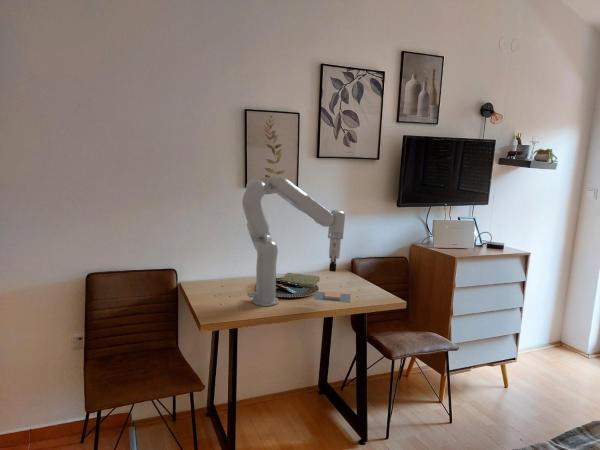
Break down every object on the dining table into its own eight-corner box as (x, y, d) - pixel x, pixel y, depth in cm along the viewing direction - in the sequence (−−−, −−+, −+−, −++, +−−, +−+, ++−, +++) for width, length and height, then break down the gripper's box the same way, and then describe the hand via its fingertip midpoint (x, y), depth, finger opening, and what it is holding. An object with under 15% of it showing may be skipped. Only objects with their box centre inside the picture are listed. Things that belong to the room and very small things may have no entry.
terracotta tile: (325, 293, 224) (324, 298, 216) (325, 291, 223) (324, 296, 215) (340, 295, 222) (340, 300, 215) (340, 292, 222) (340, 297, 214)
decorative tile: (286, 277, 255) (286, 271, 255) (319, 280, 251) (320, 274, 251) (278, 286, 237) (278, 280, 237) (314, 290, 233) (314, 283, 233)
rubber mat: (313, 301, 214) (313, 299, 214) (316, 292, 227) (316, 291, 227) (349, 304, 212) (350, 302, 212) (350, 295, 225) (350, 294, 225)
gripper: (342, 238, 206) (339, 275, 209) (343, 233, 221) (340, 268, 223) (326, 237, 207) (323, 274, 210) (329, 232, 222) (326, 266, 224)
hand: (332, 270), depth 217 cm, fingers closed
